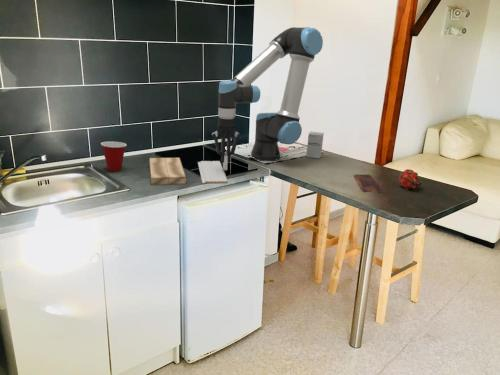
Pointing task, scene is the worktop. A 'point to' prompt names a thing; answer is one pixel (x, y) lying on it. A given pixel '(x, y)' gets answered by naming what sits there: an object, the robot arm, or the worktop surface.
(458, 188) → the worktop surface
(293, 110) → the robot arm
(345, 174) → the worktop surface
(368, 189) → the wooden tablet
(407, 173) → the dragon fruit
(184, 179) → the oak floor section
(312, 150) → the supplement box
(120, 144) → the plastic cup
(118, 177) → the worktop surface
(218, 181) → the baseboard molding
